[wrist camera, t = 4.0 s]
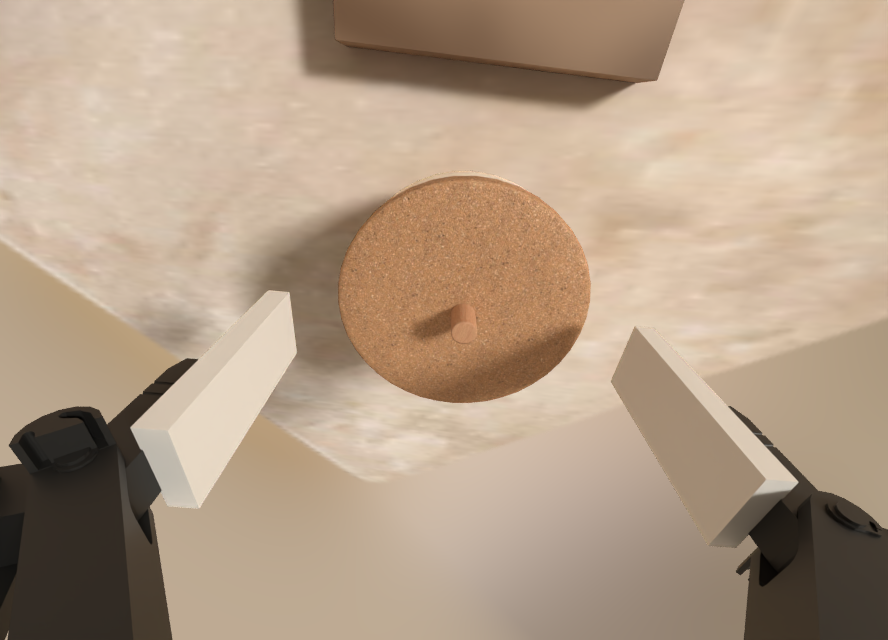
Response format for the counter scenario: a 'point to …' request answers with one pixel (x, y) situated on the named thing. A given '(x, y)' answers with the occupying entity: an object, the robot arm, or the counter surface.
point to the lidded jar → (464, 288)
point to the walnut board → (520, 33)
